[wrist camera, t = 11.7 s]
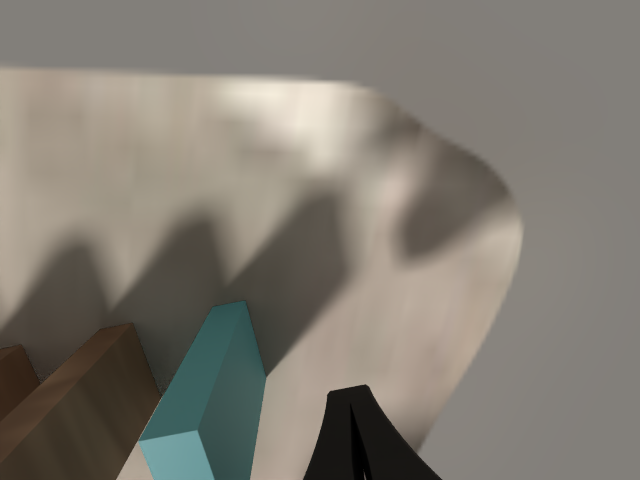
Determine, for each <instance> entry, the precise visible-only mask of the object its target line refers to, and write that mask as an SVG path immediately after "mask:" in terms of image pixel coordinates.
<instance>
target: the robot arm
mask: <svg viewBox="0 0 640 480" xmlns="http://www.w3.org/2000/svg"><path fill="white" fill-rule="evenodd" d="M363 469H364V470H363ZM364 473H365V476H366V480H442V479H441V478H440V477H439V476H438V475H437V474H435V472H434V471H433V470H432V469H431V468H430V467H429V466H428V465H426V463H425V462H424V461H423V460H422V459H421V458H420V457H419V456H418V455H417V454H416V453H415V452H414V450H413V449H412V448H411V447H410V446H409V445H408V443H407V442H406V441H405V440H404V439H403V438H402V436H401V435H400V434H399V433H398V431H397V430H396V429H395V427H394V426H393V425H392V423H391V422H390V421H389V419H388V418H387V417H386V415H385V414H384V412H383V411H382V409H381V408H380V406H379V405H378V403H377V401H376V400H375V398H374V396H373V394H372V392H371V390H370V387H369V386H367V385H366V384H365V385H360V386H355V387H349V388H344V389H339V390H334V391H330V392H329V393H328V394H327V403H326V409H325V414H324V418H323V423H322V426H321V430H320V433H319V437H318V440H317V443H316V447H315V449H314V452H313V455H312V458H311V461H310V463H309V466H308V469H307V471H306V474H305V476H304V478H303V480H364Z"/></svg>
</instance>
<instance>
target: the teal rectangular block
mask: <svg viewBox="0 0 640 480" xmlns="http://www.w3.org/2000/svg"><path fill="white" fill-rule="evenodd" d="M265 382H266V375H265V371H264V367H263V364H262V360H261V356H260V353H259V349H258V345H257V342H256V338H255V334H254V331H253V327H252V323H251V319H250V316H249V312H248V308H247V305H246V301H239V302H234V303H229V304H224V305H219V306H214V307H212V309H211V311H210V312H209V314H208V316H207V318H206V320H205V321H204V323H203V325H202V327H201V329H200V330H199V332H198V334H197V336H196V338H195V340H194V341H193V343H192V345H191V347H190V349H189V350H188V352H187V354H186V356H185V358H184V359H183V361H182V363H181V365H180V367H179V368H178V370H177V372H176V374H175V376H174V378H173V379H172V381H171V383H170V385H169V387H168V388H167V390H166V392H165V394H164V396H163V397H162V399H161V401H160V403H159V405H158V407H157V408H156V410H155V412H154V414H153V416H152V417H151V419H150V421H149V423H148V425H147V426H146V428H145V430H144V432H143V434H142V435H141V437H140V439H139V441H138V442H139V445H140V447H141V450H142V452H143V454H144V457H145V459H146V462H147V464H148V467H149V469H150V472H151V474H152V476H153V479H154V480H250V476H251V469H252V463H253V457H254V451H255V445H256V438H257V432H258V426H259V420H260V414H261V407H262V401H263V395H264V389H265Z"/></svg>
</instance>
